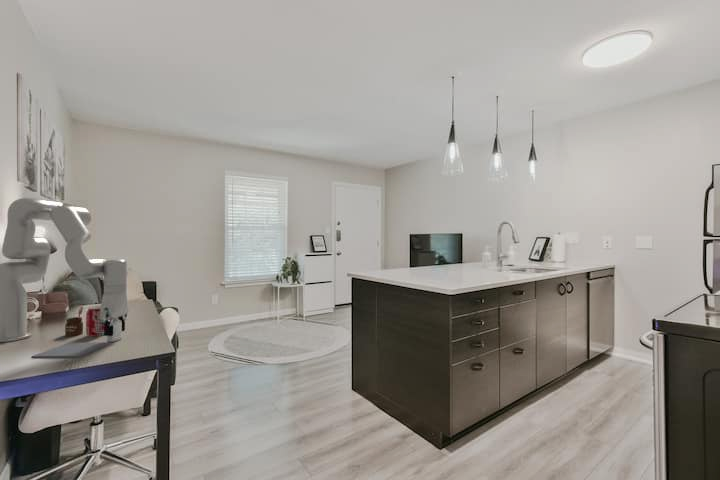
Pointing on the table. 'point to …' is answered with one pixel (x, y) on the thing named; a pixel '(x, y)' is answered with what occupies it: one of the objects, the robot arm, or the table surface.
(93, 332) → the soda can
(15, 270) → the robot arm
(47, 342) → the table surface
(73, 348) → the slate mat
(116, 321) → the eye dropper bottle
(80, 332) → the utensil holder
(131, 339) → the table surface
